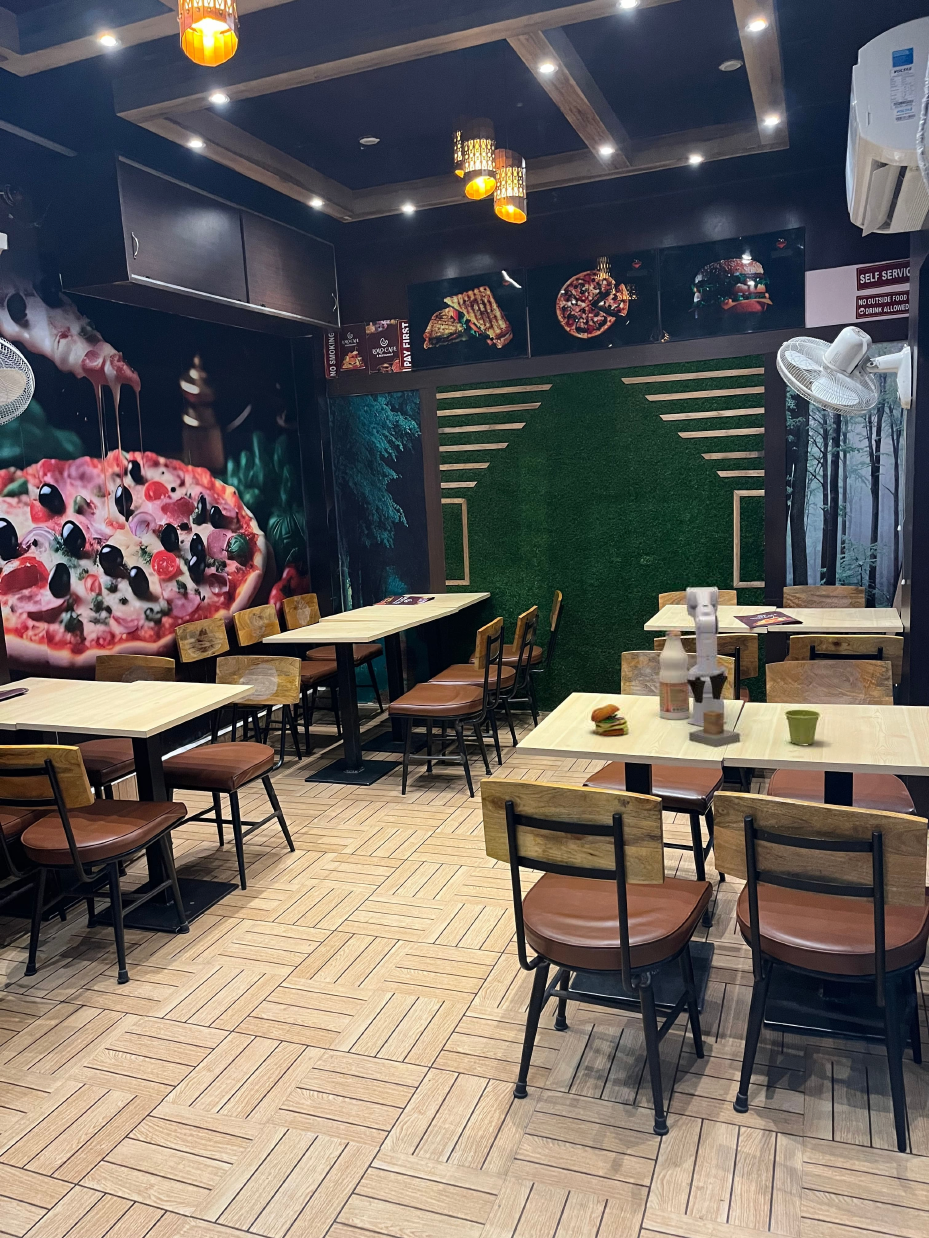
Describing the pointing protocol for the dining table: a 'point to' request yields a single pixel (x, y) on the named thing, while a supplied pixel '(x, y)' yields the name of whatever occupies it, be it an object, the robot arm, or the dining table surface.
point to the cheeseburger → (609, 721)
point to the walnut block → (713, 722)
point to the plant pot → (802, 725)
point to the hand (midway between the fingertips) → (707, 700)
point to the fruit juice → (673, 679)
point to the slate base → (714, 738)
